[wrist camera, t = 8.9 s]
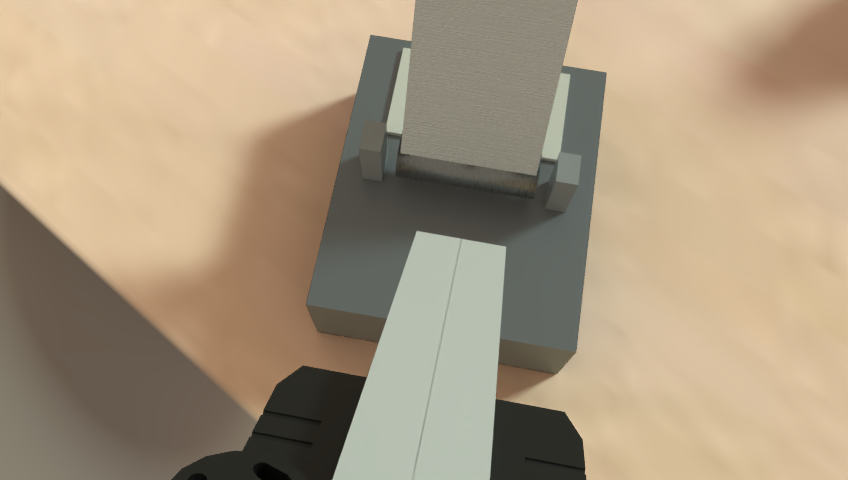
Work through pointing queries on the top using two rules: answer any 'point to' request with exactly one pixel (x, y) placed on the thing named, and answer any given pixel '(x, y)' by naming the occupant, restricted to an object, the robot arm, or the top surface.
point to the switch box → (460, 218)
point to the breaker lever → (482, 92)
